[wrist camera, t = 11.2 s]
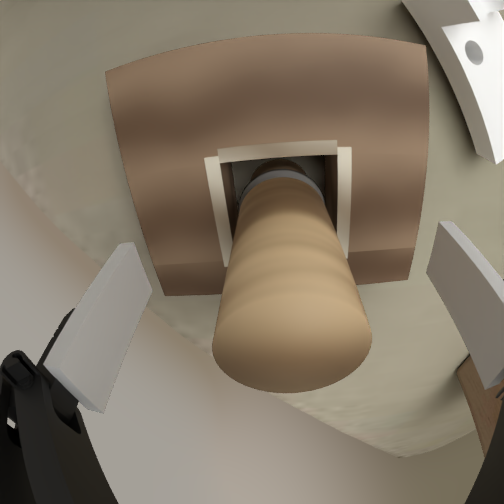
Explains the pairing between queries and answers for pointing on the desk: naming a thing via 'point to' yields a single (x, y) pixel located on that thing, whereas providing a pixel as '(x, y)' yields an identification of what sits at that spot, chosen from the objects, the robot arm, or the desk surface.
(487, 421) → the wooden block
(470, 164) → the desk surface
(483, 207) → the desk surface
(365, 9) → the desk surface
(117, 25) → the desk surface
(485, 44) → the bracket
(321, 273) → the oak peg
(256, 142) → the seat board
